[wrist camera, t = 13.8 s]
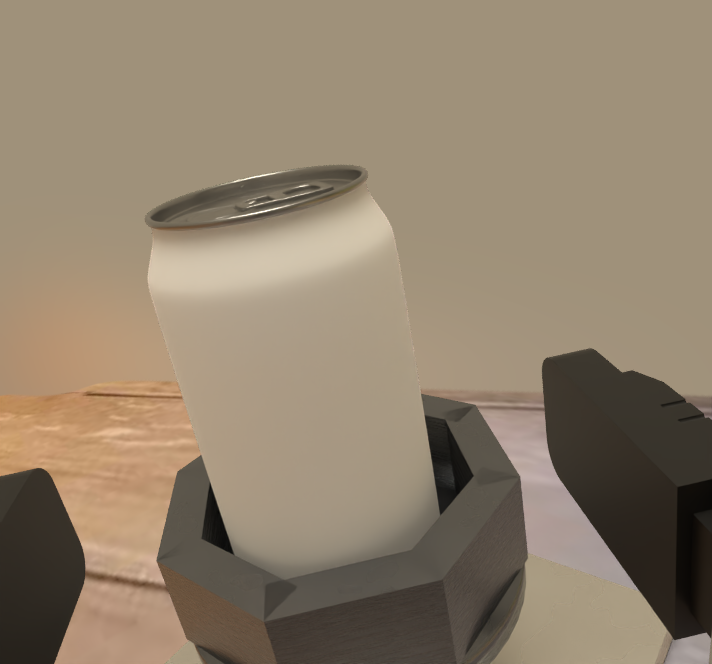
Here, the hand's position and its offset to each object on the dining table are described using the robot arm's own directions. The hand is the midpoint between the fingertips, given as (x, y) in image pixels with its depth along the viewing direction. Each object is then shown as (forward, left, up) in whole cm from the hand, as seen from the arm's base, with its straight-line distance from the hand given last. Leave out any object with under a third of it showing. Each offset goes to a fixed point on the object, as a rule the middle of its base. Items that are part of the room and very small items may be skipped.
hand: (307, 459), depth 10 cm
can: (-5, -5, -9) cm, 12 cm away
